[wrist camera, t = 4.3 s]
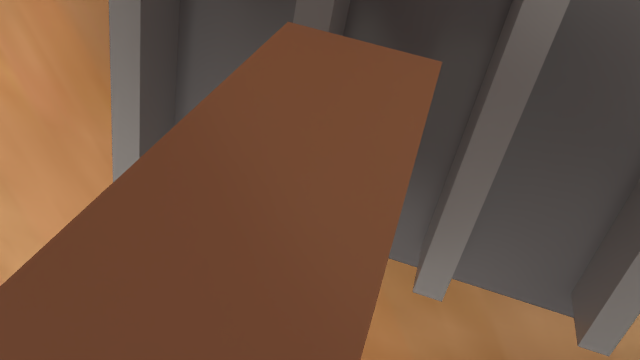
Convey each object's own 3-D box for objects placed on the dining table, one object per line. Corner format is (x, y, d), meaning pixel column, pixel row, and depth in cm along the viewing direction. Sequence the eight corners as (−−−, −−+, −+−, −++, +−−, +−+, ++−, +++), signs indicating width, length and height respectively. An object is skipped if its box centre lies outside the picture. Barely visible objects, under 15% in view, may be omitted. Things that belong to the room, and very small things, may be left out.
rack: (885, -81, 14) (980, -53, 11) (617, 313, 22) (633, 388, 19) (132, -250, 17) (55, -264, 14) (132, 159, 24) (82, 205, 22)
